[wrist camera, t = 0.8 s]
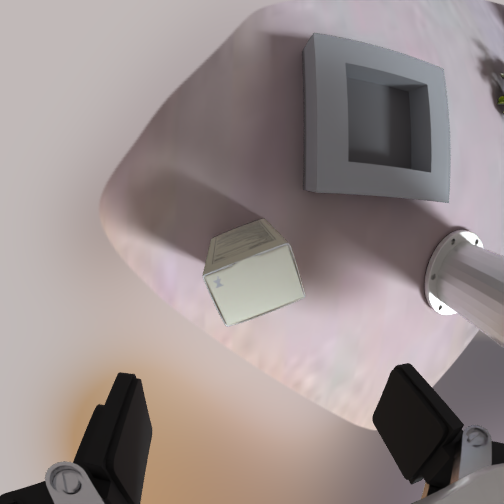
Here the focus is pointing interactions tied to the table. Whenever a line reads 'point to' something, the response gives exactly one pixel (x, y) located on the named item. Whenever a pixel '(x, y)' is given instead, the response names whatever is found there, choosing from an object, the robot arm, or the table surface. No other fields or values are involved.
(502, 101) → the passion flower
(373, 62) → the socket block
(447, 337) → the table surface
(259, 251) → the skincare box
